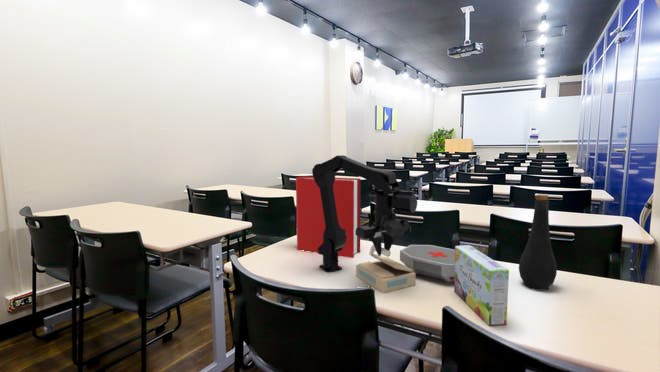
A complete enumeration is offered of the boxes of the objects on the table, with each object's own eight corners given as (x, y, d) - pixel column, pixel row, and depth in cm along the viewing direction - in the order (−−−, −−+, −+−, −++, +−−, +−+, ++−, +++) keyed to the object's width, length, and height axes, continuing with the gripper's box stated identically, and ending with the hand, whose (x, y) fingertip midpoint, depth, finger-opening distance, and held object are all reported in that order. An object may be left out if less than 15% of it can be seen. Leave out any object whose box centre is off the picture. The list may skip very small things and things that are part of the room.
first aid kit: (393, 273, 125) (463, 291, 109) (394, 253, 124) (464, 268, 108) (415, 260, 139) (480, 275, 123) (416, 242, 138) (481, 254, 122)
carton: (355, 276, 122) (355, 263, 122) (386, 269, 128) (386, 257, 128) (382, 293, 108) (383, 278, 108) (415, 285, 114) (415, 271, 114)
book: (360, 252, 149) (360, 178, 145) (353, 257, 142) (353, 180, 138) (304, 245, 160) (303, 176, 156) (295, 250, 153) (294, 177, 149)
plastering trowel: (363, 254, 122) (367, 241, 122) (387, 260, 127) (391, 247, 127) (387, 267, 109) (392, 252, 110) (412, 272, 115) (417, 258, 115)
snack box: (452, 291, 110) (453, 245, 108) (469, 290, 110) (471, 244, 108) (487, 326, 89) (490, 269, 87) (508, 325, 89) (511, 269, 87)
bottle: (523, 276, 121) (529, 191, 117) (559, 285, 113) (566, 195, 110) (513, 285, 113) (518, 195, 110) (550, 295, 106) (557, 198, 102)
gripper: (374, 216, 102) (373, 266, 104) (423, 211, 111) (421, 258, 113) (355, 209, 112) (354, 256, 114) (400, 205, 121) (399, 249, 123)
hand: (382, 255), depth 116 cm, fingers open, 3 cm apart
